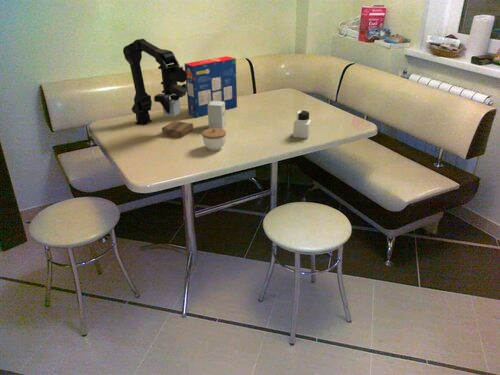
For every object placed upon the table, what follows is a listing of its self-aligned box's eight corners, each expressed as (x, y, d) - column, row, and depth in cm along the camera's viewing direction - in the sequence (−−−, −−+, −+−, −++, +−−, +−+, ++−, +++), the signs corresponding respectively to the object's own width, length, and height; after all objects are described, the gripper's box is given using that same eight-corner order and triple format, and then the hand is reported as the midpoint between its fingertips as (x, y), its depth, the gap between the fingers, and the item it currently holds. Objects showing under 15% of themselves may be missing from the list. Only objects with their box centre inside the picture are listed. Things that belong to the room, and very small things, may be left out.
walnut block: (162, 135, 204) (161, 127, 203) (175, 128, 213) (174, 120, 211) (181, 138, 201) (181, 131, 199) (193, 131, 209) (192, 123, 207)
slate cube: (163, 114, 200) (162, 102, 197) (170, 111, 205) (169, 99, 202) (174, 116, 198) (172, 103, 195) (180, 112, 202) (179, 100, 200)
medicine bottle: (310, 133, 203) (312, 110, 197) (307, 138, 197) (308, 114, 192) (296, 132, 205) (297, 108, 200) (292, 137, 199) (293, 113, 194)
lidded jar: (229, 151, 186) (228, 131, 181) (205, 154, 183) (204, 134, 179) (223, 142, 195) (222, 123, 190) (201, 145, 192) (199, 126, 188)
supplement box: (222, 129, 209) (221, 105, 203) (208, 129, 210) (206, 105, 204) (226, 124, 215) (225, 101, 209) (212, 124, 217) (211, 100, 211)
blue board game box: (228, 104, 246) (227, 56, 233) (237, 107, 241) (235, 58, 227) (188, 114, 231) (184, 63, 217) (196, 117, 226) (192, 66, 212)
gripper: (172, 85, 183) (175, 119, 190) (193, 76, 198) (196, 107, 205) (151, 83, 187) (155, 116, 194) (173, 74, 202) (176, 105, 209)
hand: (172, 111), depth 201 cm, fingers closed on slate cube, 6 cm apart
